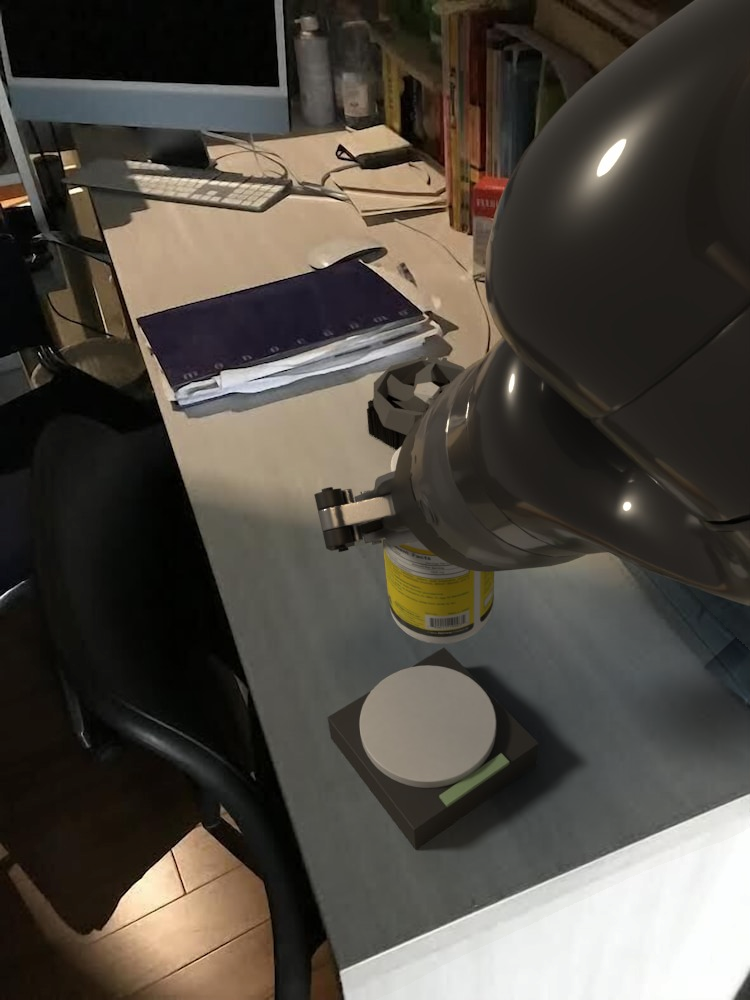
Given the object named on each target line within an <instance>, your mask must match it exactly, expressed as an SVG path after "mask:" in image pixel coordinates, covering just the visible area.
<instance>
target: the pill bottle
mask: <svg viewBox="0 0 750 1000" xmlns="http://www.w3.org/2000/svg"><path fill="white" fill-rule="evenodd" d="M401 447H402V446H401ZM401 447H400V448H399V449H398V450H395V452H394V453H393V455H392V457H391V460H390V472H393V471H395V469H396V464H397V460H398V456H399V453H400V450H401ZM382 547H383V557H384V566H385V568H384V569H385V578H386V587H387V588H386V589H387V598H388V604H389V610H390V611H389V612H390V614H391V617H392V619H393V620H394V622H395V623H396V624H397V626H398V627H399V629H401V630H402V631H403V632H404V633H405V634H407V635H408V636H410V637H412V638H414V639H415V640H418V641H421V642H423V643H427V644H434V645H445V644H453V643H454V644H455V643H457V642H461V641H464V640H466V639H468V638H470V637H473V636H474V635H476V634H477V633H478V632H480V631H481V630H483V628H484V627H485V625H487V623H488V621H489V620H490V618H491V616H492V613H493V608H494V600H495V571H494V572H482V571H473V570H468V569H464V568H460V567H457V566H455V565H452V564H450V563H448V562H446V561H444V560H442V559H441V558H439V557H437V556H436V555H435V554H433V553H432V552H431V551H429V550H428V549H427V548H426V547H425V546H424V545H423V544H422V543H421V542H420V541H416V542H412V543H407V544H403V545H398V546H391V545H390V544H389V543H388V541H387V540H386V539H384V540H382Z"/></svg>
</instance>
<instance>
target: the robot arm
mask: <svg viewBox="0 0 750 1000" xmlns="http://www.w3.org/2000/svg"><path fill="white" fill-rule="evenodd" d="M487 242H488V243H487V246H486V250H485V271H484V287H485V288H484V289H485V298H486V302H487V307H488V311H489V314H490V316H491V319H492V322H493V323H494V325H495V328H496V329H497V331H498V332H499V334H500V336H501V337H500V338H499V339H498V340H497V341H496V343H494V345H493V346H492V347H491V348H490V349H489V350H488V351H487V353H485V354H484V355H483V356H482V357H481V358H480V359H478V360H476V361H474V362H473V363H471V364H470V365H469V366H467V367H466V368H465V370H463V371H462V372H461V373H460V374H459V375H458V376H457V377H456V378H455V379H454V380H453V381H451V382H450V383H449V384H448V386H447V387H446V388H445V389H444V390H443V391H442V393H441V394H440V395H439V396H438V397H437V398H436V400H435V401H434V402H433V403H432V404H431V405H430V406H429V408H428V409H427V410H426V411H425V412H424V413H423V415H422V416H421V417H420V418H419V419H418V420H417V421H416V423H415V424H414V425H413V427H412V428H411V430H410V431H409V433H408V434H407V436H406V438H405V440H404V442H403V445H402V447H401V450H400V453H399V456H398V460H397V464H396V469H395V471H393V472H391V471H390V472H387V473H385V474H382V475H380V476H377V478H376V479H375V480H374V481H375V482H374V488H373V489H372V490H369V489H368V490H363V491H360V494H358V495H355V496H354V492H353V489H352V488H346V489H342V488H339V487H338V488H334V487H333V486H329V487H324V488H322V489H321V491H319V492H316V493H314V500H315V504H316V508H317V514H318V517H319V521H320V522H319V523H320V527H321V531H322V536H323V540H324V545H325V549H326V550H329V551H331V552H332V551H338V553H342V552H346V551H349V548H351V547H355V546H356V544H357V543H360V542H363V541H364V544H370V543H371V545H372V546H375V545H379V544H383V540H384V539H386V540H387V541H388V543H389V544H390V545H391V546H398V545H403V544H407V543H412V542H416V541H420V542H421V543H422V544H423V545H424V546H425V547H426V548H427V549H428V550H429V551H431V552H432V553H433V554H435V555H436V556H437V557H439V558H441V559H442V560H444V561H446V562H448V563H450V564H452V565H455V566H457V567H460V568H464V569H468V570H473V571H482V572H494V573H495V572H504V571H515V570H516V571H517V570H527V569H537V568H538V569H539V568H547V567H553V566H558V565H562V564H567V563H569V562H572V561H575V560H577V559H580V558H583V557H585V556H587V555H595V554H605V553H610V555H613V556H615V557H617V558H619V559H621V560H623V561H625V562H627V563H630V564H631V565H634V566H636V567H638V568H639V569H643V570H645V571H647V572H650V573H652V574H656V575H658V576H661V577H664V578H667V579H670V580H673V581H675V582H677V583H681V584H683V585H687V586H689V587H691V588H695V589H697V590H700V591H703V592H706V593H708V594H711V595H713V596H717V597H720V598H723V599H725V600H728V601H730V602H731V601H732V602H735V603H738V604H741V605H744V606H748V607H750V0H692V1H691V2H690V3H689V4H687V5H685V6H684V7H683V8H681V9H680V10H678V12H676V13H675V14H673V15H672V16H670V17H669V18H668V19H666V20H665V21H663V22H662V23H660V24H659V25H658V26H657V27H655V28H653V29H652V30H651V31H650V32H648V33H646V34H645V35H644V36H642V37H641V38H640V39H638V40H637V41H636V42H634V43H633V44H632V45H631V46H630V47H629V48H627V49H626V50H625V51H623V52H622V53H621V54H620V55H619V56H617V57H616V58H615V59H614V60H613V61H611V62H610V63H608V65H607V66H605V67H604V68H603V69H601V70H600V71H599V72H598V73H596V74H595V75H594V76H592V77H591V78H590V79H589V80H587V82H585V83H584V84H583V85H582V86H581V87H579V89H578V90H576V91H575V93H573V94H572V95H571V96H570V97H569V99H567V100H566V101H565V102H564V103H563V104H562V105H561V106H560V107H559V108H558V109H557V110H556V112H554V113H553V115H552V116H551V117H550V118H549V119H548V121H546V123H545V124H544V125H543V126H542V127H541V129H539V131H538V132H537V134H535V137H534V138H533V139H532V141H531V142H530V143H529V145H528V146H527V148H525V150H524V152H523V153H522V155H521V156H520V158H519V160H518V162H517V163H516V165H515V167H514V169H513V171H512V172H511V174H510V176H509V178H508V180H507V182H506V184H505V186H504V189H503V190H502V192H501V195H500V198H499V201H498V203H497V206H496V209H495V212H494V215H493V219H492V224H491V228H490V233H489V237H488V241H487Z"/></svg>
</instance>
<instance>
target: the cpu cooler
mask: <svg viewBox="0 0 750 1000" xmlns="http://www.w3.org/2000/svg"><path fill="white" fill-rule="evenodd" d="M465 369H466V368H465V367H464V366H463V365H460V364H457V363H454V362H452V361H449V360H448V358H447V357H443V356H427V355H425V356H424V355H421V356H420V357H419V358H417V359H412V360H409V361H405V362H400V363H397V364H392V365H390V366H389V367H388V368H387V369H386V370H385V371H384V372H383V373H382V374H381V375H379V377H377V379H376V380H375V381H374V382H373V398H372V399H370V400H368V401H367V408H366V416H367V417H366V418H367V427H368V434H369V435H370V436H371V437H374V438H375V439H377V440H379V442H381V443H383V444H385V445H387V446H389V447H391V448H392V449H394V450H395V451H397V450H398V449H399V448H400V447H401V446H402V445H403V442H404V440H405V438H406V436H407V434H408V433H409V431H410V430H411V428H412V427H413V425H414V424H415V423H416V421H417V420H418V419H419V418H420V417H421V416H422V415H423V413H424V412H425V411H426V410H427V409H428V408H429V406H430V405H431V404H432V403H433V402H434V401H435V400H436V398H437V397H438V396H439V395H440V394H441V393H442V391H443V390H444V389H445V388H446V387H447V386H448V384H449V383H450V382H451V381H453V380H454V379H455V378H456V377H457V376H458V375H459V374H460V373H461V372H462V371H463V370H465Z"/></svg>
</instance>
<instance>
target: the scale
mask: <svg viewBox="0 0 750 1000" xmlns="http://www.w3.org/2000/svg"><path fill="white" fill-rule="evenodd" d="M326 718H327V723H328V728H329V735H330V739H331V740H332V741H333V743H334V745H336V747H337V748H338V749H339V751H340V752H341V754H342V755H343V756H344V758H345V759H346V761H348V762H349V764H350V765H351V767H352V768H353V769H354V771H355V772H356V773H357V775H358V776H359V777H360V779H361V780H362V782H363V783H364V784H365V785H366V787H367V788H368V789H369V790H370V792H371V793H372V794H373V796H374V797H375V799H376V800H377V801H378V802H379V804H380V805H381V806H382V808H383V809H384V810H385V812H386V813H387V814H388V815H389V817H390V819H391V820H392V821H393V822H394V824H395V825H396V826H397V827H398V829H399V830H400V832H401V833H402V834H403V836H404V837H405V838H406V839H407V841H408V842H409V843H410V845H411V846H412V847H413V849H415V850H416V851H417V850H418V849H419V848H421V847H422V846H424V845H426V844H427V843H428V842H429V841H430V840H432V839H433V838H435V837H436V836H438V835H439V834H441V833H442V832H443V831H445V830H446V829H448V828H449V827H450V826H452V825H453V824H455V823H456V822H457V821H459V820H460V819H462V818H463V817H464V816H466V815H468V814H469V813H470V812H472V811H473V810H475V809H476V808H477V807H479V806H480V805H482V804H483V803H484V802H486V801H487V800H489V799H490V798H491V797H493V796H494V795H496V794H497V793H499V792H500V791H501V790H503V789H504V788H506V787H507V786H508V785H510V784H511V783H512V782H514V781H515V780H517V779H519V778H520V777H521V776H523V775H524V774H526V773H527V772H528V771H529V770H531V769H533V768H534V767H536V766H537V765H538V754H539V744H540V743H539V742H538V741H537V740H536V739H535V738H534V737H533V736H532V734H530V733H529V732H528V731H527V730H526V729H525V727H523V725H522V724H521V723H519V721H517V720H516V718H515V717H514V716H512V714H510V712H508V711H507V710H506V708H505V707H504V706H503V705H502V704H501V703H500V702H499V701H497V700H496V698H495V697H494V696H493V695H492V694H491V693H490V692H489V691H488V690H487V689H486V687H484V686H483V684H481V683H480V682H479V681H478V679H476V678H475V677H474V676H473V675H472V674H471V673H470V672H469V671H468V670H467V668H466V667H465V666H464V665H462V664H461V662H460V661H458V660H457V659H456V658H455V657H454V656H453V654H452V653H450V651H448V650H447V648H446V647H442V648H440V649H438V650H437V651H435V652H433V653H432V654H430V655H428V656H427V657H425V658H424V659H422V660H421V661H418V662H417V663H415V664H413V665H412V666H410V667H407V668H403V669H401V670H397V671H395V672H394V673H391V674H390V675H388V676H387V677H385V678H384V679H382V680H380V682H379V683H377V684H376V685H375V686H374V687H373V688H372V690H370V691H369V692H366V693H365V694H364V695H362V696H361V697H358V698H357V699H356V700H354V701H352V702H351V703H349V704H347V705H345V706H344V707H342V708H340V709H339V710H336V711H335V712H334V713H332V714H330V715H328V716H327V717H326Z"/></svg>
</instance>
